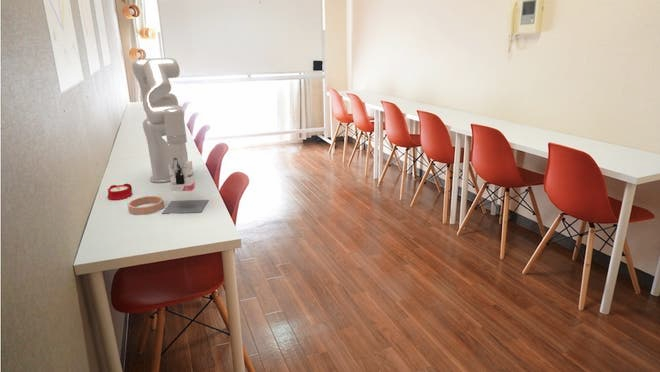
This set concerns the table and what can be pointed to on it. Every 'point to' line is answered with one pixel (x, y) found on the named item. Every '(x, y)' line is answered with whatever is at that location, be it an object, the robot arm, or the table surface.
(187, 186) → the ink box
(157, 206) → the copper faceted ring
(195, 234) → the table surface
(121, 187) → the alarm clock
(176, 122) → the robot arm
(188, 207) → the mat
